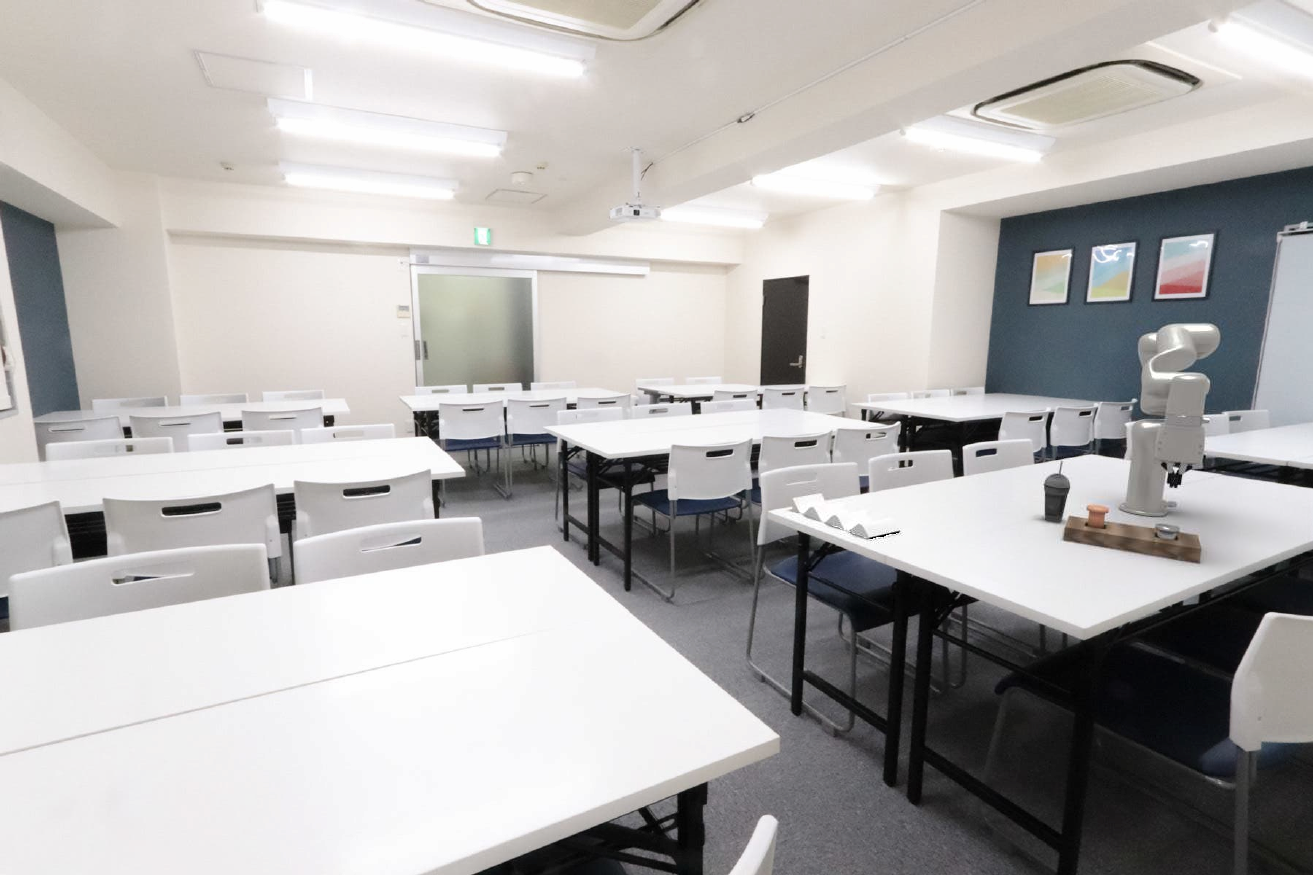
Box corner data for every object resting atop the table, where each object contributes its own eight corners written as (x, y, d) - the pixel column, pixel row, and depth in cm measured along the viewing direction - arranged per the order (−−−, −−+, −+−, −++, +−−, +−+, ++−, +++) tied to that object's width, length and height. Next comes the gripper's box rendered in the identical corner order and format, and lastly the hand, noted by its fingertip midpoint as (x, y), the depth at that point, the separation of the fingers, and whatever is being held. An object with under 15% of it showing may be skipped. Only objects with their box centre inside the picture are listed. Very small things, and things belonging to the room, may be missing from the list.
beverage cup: (1058, 517, 198) (1065, 458, 195) (1071, 524, 191) (1078, 462, 188) (1035, 516, 199) (1041, 457, 195) (1047, 523, 192) (1053, 462, 188)
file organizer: (871, 542, 177) (872, 526, 176) (792, 512, 208) (792, 498, 207) (902, 535, 183) (903, 519, 183) (820, 507, 214) (821, 493, 213)
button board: (1195, 548, 169) (1197, 535, 169) (1199, 563, 158) (1201, 549, 158) (1067, 527, 188) (1069, 515, 187) (1063, 539, 177) (1064, 526, 176)
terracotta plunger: (1106, 528, 178) (1109, 507, 177) (1105, 532, 174) (1108, 511, 173) (1084, 524, 181) (1087, 504, 180) (1083, 529, 177) (1086, 508, 176)
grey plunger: (1176, 548, 168) (1179, 525, 167) (1176, 553, 164) (1180, 530, 163) (1152, 544, 172) (1155, 522, 170) (1152, 549, 168) (1155, 527, 166)
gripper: (1219, 421, 160) (1208, 488, 164) (1147, 417, 169) (1138, 480, 173) (1222, 425, 154) (1211, 494, 158) (1147, 420, 164) (1138, 485, 167)
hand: (1173, 486), depth 165 cm, fingers closed
